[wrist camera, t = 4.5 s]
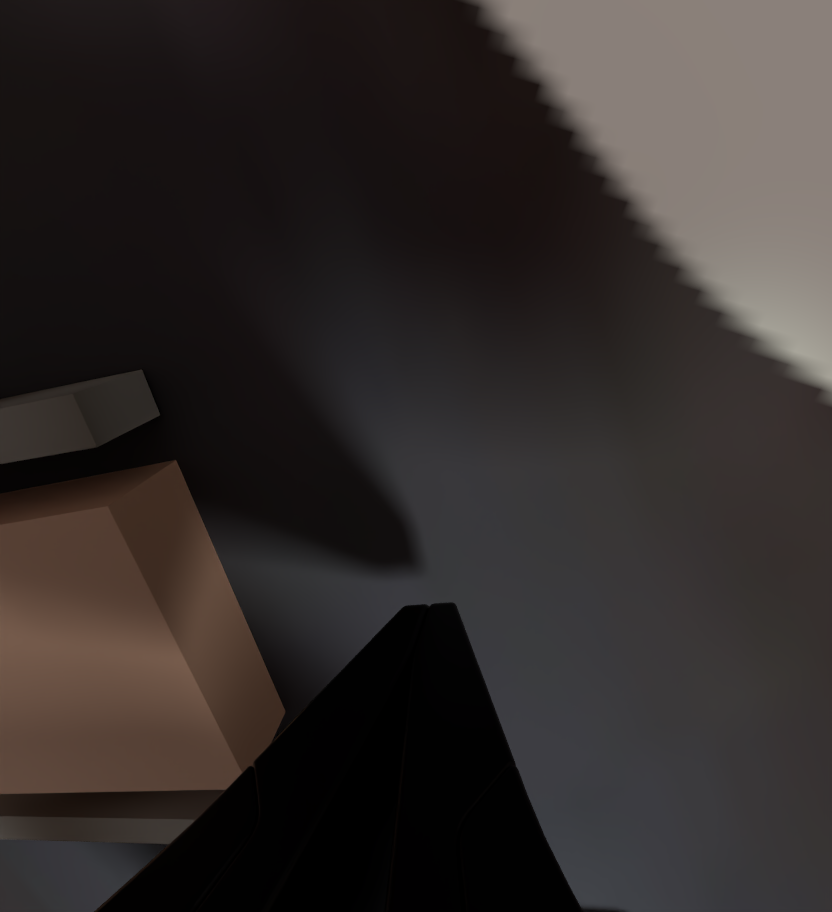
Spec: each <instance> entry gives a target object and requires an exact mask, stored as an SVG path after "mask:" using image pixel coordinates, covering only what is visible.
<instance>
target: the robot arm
mask: <svg viewBox="0 0 832 912" xmlns="http://www.w3.org/2000/svg"><path fill="white" fill-rule="evenodd" d="M94 912H583V911H582V909H581V907H580V905H579V903H578V901H577V899H576V897H575V896H574V894H573V892H572V890H571V888H570V886H569V884H568V882H567V880H566V878H565V876H564V874H563V872H562V870H561V868H560V866H559V864H558V862H557V860H556V858H555V856H554V854H553V852H552V850H551V848H550V846H549V844H548V842H547V840H546V838H545V836H544V833H543V831H542V829H541V826H540V824H539V821H538V819H537V817H536V814H535V812H534V809H533V807H532V805H531V802H530V800H529V797H528V795H527V792H526V790H525V787H524V784H523V782H522V779H521V776H520V773H519V771H518V769H517V767H516V765H515V761H514V758H513V756H512V753H511V750H510V748H509V745H508V742H507V740H506V737H505V734H504V732H503V729H502V726H501V724H500V721H499V718H498V716H497V713H496V710H495V708H494V705H493V702H492V700H491V697H490V694H489V692H488V689H487V686H486V684H485V681H484V678H483V676H482V673H481V670H480V668H479V665H478V662H477V660H476V657H475V654H474V652H473V649H472V646H471V644H470V641H469V638H468V636H467V633H466V630H465V628H464V625H463V622H462V620H461V617H460V614H459V612H458V609H457V606H456V605H455V603H452V602H450V603H436V604H432V605H430V607H429V606H428V605H426V604H422V605H408V606H404V607H403V608H402V609H401V610H400V611H399V612H398V613H397V614H396V615H395V616H394V617H393V618H392V619H391V620H390V621H389V622H388V623H387V624H386V625H385V626H384V627H383V628H382V629H381V630H380V631H379V632H378V633H377V634H376V635H375V636H374V637H373V638H372V639H371V640H370V642H369V643H368V644H367V645H366V646H365V647H364V648H363V649H362V650H361V651H360V652H359V653H358V654H357V655H356V656H355V657H354V658H353V659H352V660H351V661H350V662H349V663H348V664H347V665H346V666H345V667H344V668H343V669H342V670H341V671H340V672H339V674H338V675H337V676H336V677H335V678H334V679H333V680H332V681H331V682H330V683H329V684H328V685H327V686H326V687H325V688H324V689H323V690H322V691H321V692H320V693H319V694H318V695H317V696H316V697H315V698H314V699H313V700H312V701H311V702H310V703H309V704H308V706H307V707H306V708H305V709H304V710H303V711H302V712H301V713H300V714H299V715H298V716H297V717H296V718H295V719H294V720H293V721H292V722H291V723H290V724H289V725H288V726H287V727H286V728H285V729H284V730H283V731H282V732H281V733H280V734H279V735H278V736H277V738H276V739H275V740H274V741H273V742H272V743H271V744H270V745H269V746H268V747H267V748H266V749H265V750H264V751H263V752H262V753H261V754H260V755H259V756H258V757H257V758H256V759H255V760H254V762H253V767H252V766H248V767H247V768H246V769H245V770H244V771H243V772H242V773H241V774H240V775H239V776H238V777H237V779H236V780H235V781H234V782H233V783H232V784H231V785H230V786H229V787H228V788H227V789H226V790H225V791H224V792H223V793H222V794H221V795H220V796H219V797H218V798H217V799H216V800H215V801H214V802H213V803H212V804H211V805H210V806H209V807H208V808H207V809H206V810H205V811H204V812H203V813H202V814H201V815H200V816H199V817H198V818H197V819H196V820H195V821H194V822H193V823H191V824H190V825H189V826H188V827H187V828H186V829H185V830H184V831H183V832H182V833H181V834H180V835H178V836H177V837H176V838H175V839H174V840H173V841H172V842H171V843H170V844H169V845H168V846H167V847H165V848H164V849H163V850H162V851H161V852H160V853H159V854H158V855H157V856H156V857H155V858H154V859H152V860H151V861H150V862H149V863H148V864H147V865H146V866H145V867H144V868H142V869H141V870H140V871H139V872H138V873H137V874H136V875H135V876H134V877H132V878H131V879H130V880H129V881H128V882H127V883H126V884H125V885H123V886H122V887H121V888H120V889H119V890H118V891H117V892H116V893H115V894H113V895H112V896H111V897H110V898H109V899H108V900H107V901H106V902H104V903H103V904H102V905H101V906H100V907H99V908H98V909H97V910H95V911H94Z"/></svg>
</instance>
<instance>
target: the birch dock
mask: <svg viewBox="0 0 832 912" xmlns="http://www.w3.org/2000/svg"><path fill="white" fill-rule="evenodd" d="M158 416H160V413H159V410H158V408H157V405H156V403H155V401H154V398H153V396H152V393H151V391H150V388H149V386H148V383H147V381H146V378H145V376H144V373H143V371H142V369H141V370H136V371H132V372H127V373H122V374H117V375H112V376H108V377H103V378H98V379H93V380H89V381H84V382H79V383H74V384H69V385H65V386H60V387H55V388H50V389H45V390H41V391H36V392H31V393H26V394H21V395H17V396H12V397H7V398H2V399H0V464H4V463H9V462H15V461H21V460H27V459H32V458H38V457H44V456H50V455H55V454H61V453H67V452H73V451H78V450H84V449H90V448H96V447H99V446H101V445H103V444H105V443H107V442H109V441H110V440H112V439H114V438H116V437H118V436H120V435H122V434H124V433H126V432H128V431H130V430H132V429H134V428H136V427H138V426H140V425H142V424H144V423H146V422H148V421H150V420H152V419H154V418H156V417H158ZM224 791H225V790H176V791H126V792H75V793H25V794H0V839H16V840H49V841H83V842H116V843H150V844H170V843H171V842H172V841H173V840H174V839H175V838H176V837H177V836H178V835H180V834H181V833H182V832H183V831H184V830H185V829H186V828H187V827H188V826H189V825H190V824H191V823H193V822H194V821H195V820H196V819H197V818H198V817H199V816H200V815H201V814H202V813H203V812H204V811H205V810H206V809H207V808H208V807H209V806H210V805H211V804H212V803H213V802H214V801H215V800H216V799H217V798H218V797H219V796H220V795H221V794H222V793H223V792H224Z"/></svg>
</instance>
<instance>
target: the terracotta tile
mask: <svg viewBox="0 0 832 912" xmlns="http://www.w3.org/2000/svg"><path fill="white" fill-rule="evenodd" d="M285 712H286V711H285V709H284V707H283V705H282V702H281V700H280V698H279V695H278V693H277V691H276V688H275V686H274V684H273V682H272V679H271V677H270V675H269V672H268V670H267V668H266V666H265V663H264V661H263V659H262V656H261V654H260V652H259V649H258V647H257V645H256V643H255V640H254V638H253V636H252V633H251V631H250V629H249V626H248V624H247V622H246V620H245V617H244V615H243V613H242V610H241V608H240V606H239V603H238V601H237V599H236V597H235V594H234V592H233V590H232V587H231V585H230V583H229V580H228V578H227V576H226V574H225V571H224V569H223V567H222V564H221V562H220V560H219V558H218V555H217V553H216V551H215V548H214V546H213V544H212V541H211V539H210V537H209V535H208V532H207V530H206V528H205V525H204V523H203V521H202V518H201V516H200V514H199V512H198V509H197V507H196V505H195V502H194V500H193V498H192V495H191V493H190V491H189V489H188V486H187V484H186V482H185V479H184V477H183V475H182V472H181V470H180V468H179V466H178V463H177V461H176V460H173V461H168V462H163V463H158V464H152V465H147V466H142V467H137V468H131V469H126V470H121V471H116V472H110V473H105V474H100V475H95V476H90V477H84V478H79V479H74V480H69V481H63V482H58V483H53V484H48V485H42V486H37V487H32V488H27V489H21V490H16V491H11V492H6V493H1V494H0V794H25V793H75V792H126V791H176V790H226V789H227V788H228V787H229V786H230V785H231V784H232V783H233V782H234V781H235V780H236V779H237V777H238V776H239V775H240V774H241V773H242V772H243V771H244V770H245V769H246V768H247V767H248V766H252V767H253V762H254V760H255V759H256V758H257V757H258V756H259V755H260V754H261V753H262V752H263V751H264V750H265V749H266V748H267V747H268V746H269V745H270V744H271V742H272V740H273V738H274V736H275V734H276V732H277V729H278V727H279V725H280V723H281V721H282V718H283V716H284V714H285Z"/></svg>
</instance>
